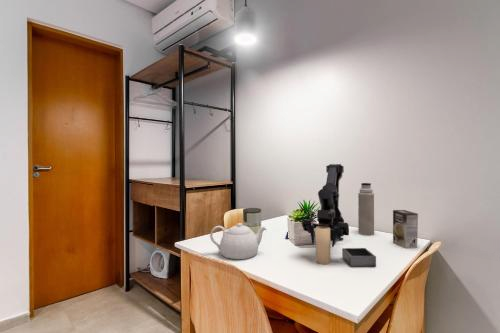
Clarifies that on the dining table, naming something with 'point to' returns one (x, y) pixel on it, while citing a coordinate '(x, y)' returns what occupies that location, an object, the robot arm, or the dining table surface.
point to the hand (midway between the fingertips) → (322, 245)
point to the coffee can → (252, 219)
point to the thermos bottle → (366, 210)
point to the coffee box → (405, 228)
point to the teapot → (238, 241)
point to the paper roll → (323, 245)
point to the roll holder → (358, 257)
